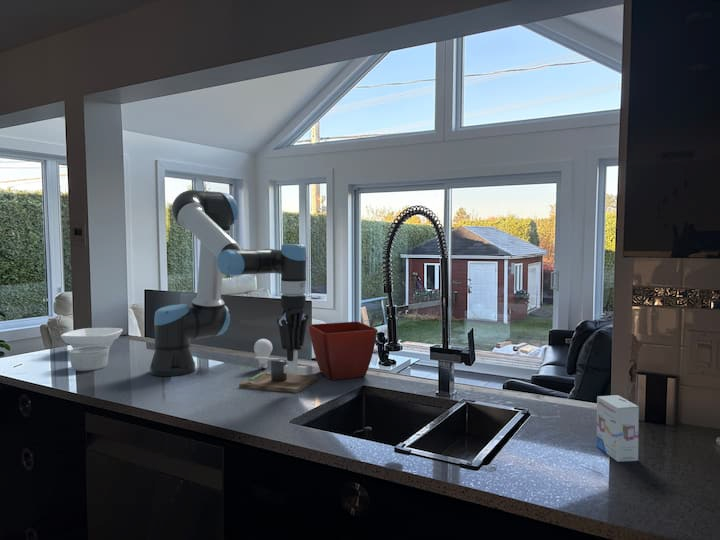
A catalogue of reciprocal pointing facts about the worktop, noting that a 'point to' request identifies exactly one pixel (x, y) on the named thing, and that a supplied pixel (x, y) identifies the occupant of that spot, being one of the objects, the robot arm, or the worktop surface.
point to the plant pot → (343, 348)
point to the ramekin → (89, 357)
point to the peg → (282, 369)
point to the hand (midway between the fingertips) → (292, 370)
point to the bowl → (91, 337)
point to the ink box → (617, 427)
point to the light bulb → (263, 351)
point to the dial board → (278, 382)
